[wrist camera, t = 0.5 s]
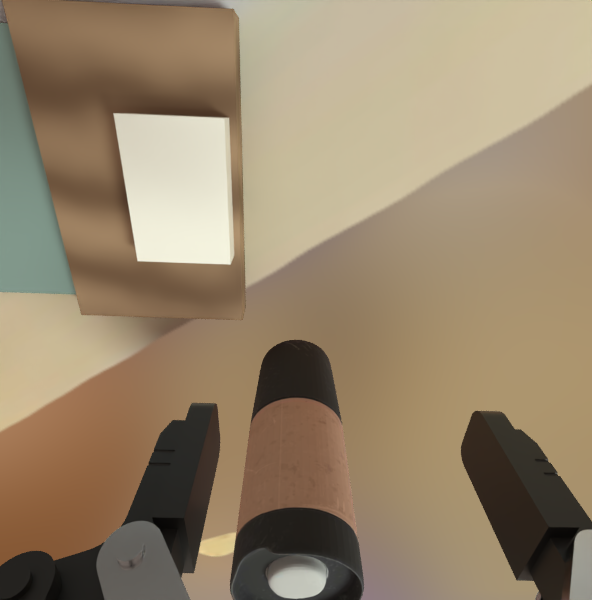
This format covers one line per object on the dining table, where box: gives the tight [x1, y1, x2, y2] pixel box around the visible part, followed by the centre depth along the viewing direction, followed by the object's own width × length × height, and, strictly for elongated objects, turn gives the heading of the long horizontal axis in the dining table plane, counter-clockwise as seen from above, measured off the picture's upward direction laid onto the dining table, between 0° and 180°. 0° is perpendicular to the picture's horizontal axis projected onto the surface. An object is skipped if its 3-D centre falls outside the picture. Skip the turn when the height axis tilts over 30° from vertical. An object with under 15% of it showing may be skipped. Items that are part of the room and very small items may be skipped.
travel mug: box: [230, 340, 364, 600], centre depth 29 cm, size 8×8×20 cm
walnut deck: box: [2, 0, 246, 320], centre depth 29 cm, size 22×14×2 cm, turn 178°
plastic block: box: [113, 113, 234, 265], centre depth 27 cm, size 10×7×2 cm
